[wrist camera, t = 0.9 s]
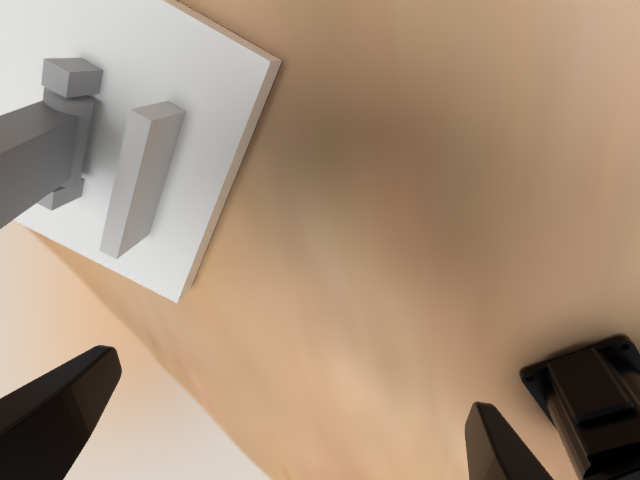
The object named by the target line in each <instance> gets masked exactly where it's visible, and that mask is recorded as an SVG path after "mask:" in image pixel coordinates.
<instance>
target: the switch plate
mask: <svg viewBox="0 0 640 480" xmlns="http://www.w3.org/2000/svg"><path fill="white" fill-rule="evenodd" d="M281 62H282V60H280V59H278V58H277V57H275V56H273V55H271V54H270V53H268V52H266V51H264V50H263V49H261V48H259V47H257V46H256V45H254V44H252V43H250V42H249V41H247V40H245V39H243V38H242V37H240V36H238V35H236V34H235V33H233V32H231V31H229V30H228V29H226V28H224V27H222V26H221V25H219V24H217V23H215V22H214V21H212V20H210V19H208V18H207V17H205V16H203V15H201V14H200V13H198V12H196V11H194V10H192V9H191V8H189V7H187V6H185V5H184V4H182V3H180V2H178V1H177V0H0V116H1V115H3V114H6V113H9V112H12V111H15V110H17V109H20V108H23V107H26V106H28V105H31V104H34V103H37V102H40V101H42V100H43V92H44V87H46V88H48V89H50V90H52V91H53V92H55V93H57V94H59V95H61V96H63V97H65V98H71V97H78V96H84V95H88V96H90V97H91V98H92V99H93V101H94V105H93V111H92V117H91V123H90V129H89V135H88V141H87V147H86V153H85V159H84V165H83V171H82V176H81V181H80V183H79V184H77V185H75V186H71V187H58V188H57V189H55V190H54V191H52V192H51V193H50V194H48V195H47V196H45V197H44V198H43V199H41V200H40V201H39V202H37V203H36V204H34V205H33V206H32V207H30V208H29V209H27V210H26V211H25V212H23V213H22V214H20V215H19V216H18V217H16V218H15V219H14V221H16V222H18V223H20V224H22V225H24V226H26V227H28V228H30V229H32V230H34V231H36V232H38V233H40V234H42V235H44V236H46V237H48V238H50V239H52V240H54V241H56V242H58V243H60V244H62V245H64V246H66V247H68V248H69V249H71V250H73V251H75V252H77V253H79V254H81V255H83V256H85V257H87V258H89V259H91V260H93V261H95V262H97V263H99V264H101V265H103V266H105V267H107V268H109V269H111V270H113V271H115V272H117V273H119V274H121V275H123V276H125V277H127V278H129V279H131V280H133V281H135V282H136V283H138V284H140V285H142V286H144V287H146V288H148V289H150V290H152V291H154V292H156V293H158V294H160V295H162V296H164V297H166V298H168V299H170V300H172V301H174V302H176V303H178V302H179V300H180V299H181V298H182V297H183V296H184V294H185V293H186V292H187V291H188V290H189V289H190V287H191V286H192V284H193V281H194V279H195V276H196V274H197V272H198V269H199V267H200V264H201V262H202V259H203V257H204V254H205V252H206V249H207V247H208V244H209V242H210V239H211V237H212V234H213V232H214V229H215V227H216V224H217V222H218V219H219V217H220V214H221V212H222V209H223V207H224V204H225V202H226V199H227V197H228V194H229V192H230V189H231V187H232V184H233V182H234V179H235V177H236V174H237V172H238V169H239V167H240V164H241V162H242V159H243V157H244V154H245V152H246V149H247V147H248V145H249V142H250V140H251V137H252V135H253V132H254V130H255V127H256V125H257V122H258V120H259V117H260V115H261V112H262V110H263V107H264V105H265V102H266V100H267V97H268V95H269V92H270V90H271V87H272V85H273V82H274V80H275V77H276V75H277V72H278V70H279V67H280V65H281Z"/></svg>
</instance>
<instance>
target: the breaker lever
mask: <svg viewBox="0 0 640 480" xmlns="http://www.w3.org/2000/svg"><path fill="white" fill-rule="evenodd" d="M93 105H94V101H93V99H92V98H91V97H90V96H88V95H84V96H78V97H71V98H65V97H63V96H61V95H59V94H57V93H55V92H53V91H52V90H50V89H48V88H46V87H44V92H43V100H42V101H40V102H37V103H34V104H31V105H28V106H26V107H23V108H20V109H17V110H15V111H12V112H9V113H6V114H3V115H1V116H0V229H1V228H2V227H4V226H5V225H7V224H8V223H9V222H11V221H12V220H14V219H15V218H16V217H18V216H19V215H20V214H22V213H23V212H25V211H26V210H27V209H29V208H30V207H32V206H33V205H34V204H36V203H37V202H39V201H40V200H41V199H43V198H44V197H45V196H47V195H48V194H50V193H51V192H52V191H54V190H55V189H57V188H58V187H71V186H75V185H77V184H79V183H80V181H81V176H82V171H83V165H84V159H85V153H86V147H87V141H88V135H89V129H90V123H91V117H92V111H93Z"/></svg>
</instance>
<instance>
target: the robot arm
mask: <svg viewBox="0 0 640 480" xmlns="http://www.w3.org/2000/svg"><path fill="white" fill-rule="evenodd" d="M622 344H624V345H622ZM620 345H621V346H620ZM121 373H122V368H121V365H120V361H119V358H118V354H117V351H116V349H115V348H114V347H110V346H104V345H98V346H95V347H93V348H92V349H90V350H88V351H86V352H85V353H83V354H81V355H79V356H77V357H75V358H73V359H72V360H70V361H68V362H66V363H65V364H62V365H61V366H59V367H57V368H55V369H53V370H52V371H50V372H48V373H46V374H44V375H42V376H41V377H39V378H37V379H35V380H33V381H32V382H30V383H28V384H26V385H24V386H22V387H21V388H19V389H17V390H15V391H13V392H12V393H10V394H8V395H6V396H4V397H2V398H1V399H0V480H63V479H64V478H65V476H66V474H67V473H68V471H69V470H70V468H71V467H72V465H73V463H74V462H75V460H76V458H77V457H78V455H79V454H80V452H81V451H82V449H83V447H84V446H85V444H86V443H87V441H88V439H89V438H90V436H91V434H92V432H93V430H94V429H95V427H96V425H97V423H98V421H99V419H100V417H101V415H102V413H103V411H104V409H105V407H106V405H107V403H108V401H109V399H110V397H111V395H112V393H113V391H114V389H115V388H116V386H117V384H118V382H119V380H120V377H121ZM528 376H530V377H528ZM520 377H521V380H522V382H523V383H524V385H525V386H526V388H527V389H528V390H529V392H530V393H531V394H532V396H533V397H534V399H535V400H536V401H537V403H538V404H539V406H540V407H541V408H542V410H543V411H544V413H545V414H546V415H547V417H548V418H549V420H550V421H551V422H552V424H553V425H554V427H555V428H556V429H557V431H558V433H559V435H560V438H561V440H562V442H563V445H564V447H565V449H566V451H567V454H568V456H569V458H570V461H571V463H572V465H573V468H574V470H575V472H576V474H577V477H578V479H579V480H640V354H639V352H638V350H637V349H636V347H635V345H634V344H633V342H632V341H631V340H630V339H629V338H628V337H626V336H618V337H615V338H612V339H609V340H606V341H603V342H601V343H598V344H595V345H592V346H589V347H586V348H584V349H581V350H578V351H575V352H572V353H569V354H566V355H564V356H561V357H558V358H555V359H552V360H549V361H547V362H544V363H541V364H538V365H535V366H532V367H529V368H527V369H524V370H522V371H521V372H520ZM465 440H466V450H467V460H468V470H469V480H553V478H552V477H551V476H550V475H549V473H548V472H547V471H546V470H545V468H544V467H543V466H542V465H541V463H540V462H539V461H538V460H537V458H536V457H535V456H534V455H533V453H532V452H531V451H530V450H529V448H528V447H527V446H526V445H525V443H524V442H523V441H522V440H521V438H520V437H519V436H518V435H517V433H516V432H515V431H514V430H513V428H512V427H511V426H510V425H509V423H508V422H507V421H506V420H505V418H504V417H503V416H502V415H501V413H500V412H499V411H498V410H497V408H496V407H495V406H494V405H492V404H490V403H483V402H474V403H473V405H472V408H471V410H470V413H469V415H468V418H467V421H466V424H465Z"/></svg>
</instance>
